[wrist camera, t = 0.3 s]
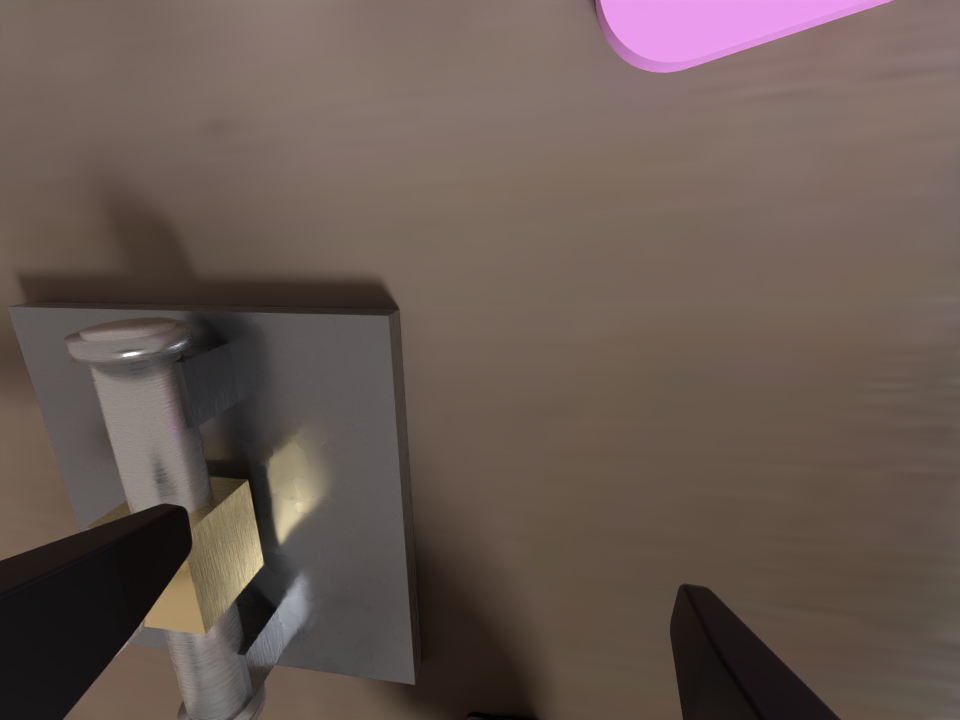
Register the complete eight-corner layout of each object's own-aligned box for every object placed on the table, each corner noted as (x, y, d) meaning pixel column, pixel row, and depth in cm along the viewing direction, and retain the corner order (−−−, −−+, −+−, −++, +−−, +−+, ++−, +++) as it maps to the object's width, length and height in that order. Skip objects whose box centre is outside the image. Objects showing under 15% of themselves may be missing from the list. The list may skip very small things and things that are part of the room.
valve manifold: (422, 661, 28) (374, 823, 21) (136, 622, 31) (4, 752, 24) (399, 308, 22) (316, 360, 14) (38, 301, 25) (-190, 341, 17)
